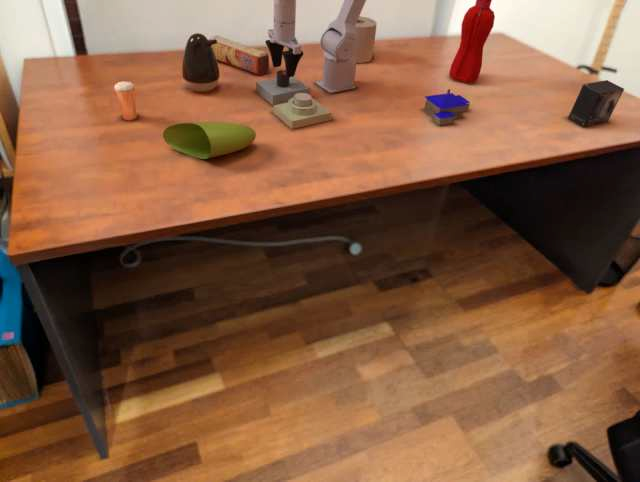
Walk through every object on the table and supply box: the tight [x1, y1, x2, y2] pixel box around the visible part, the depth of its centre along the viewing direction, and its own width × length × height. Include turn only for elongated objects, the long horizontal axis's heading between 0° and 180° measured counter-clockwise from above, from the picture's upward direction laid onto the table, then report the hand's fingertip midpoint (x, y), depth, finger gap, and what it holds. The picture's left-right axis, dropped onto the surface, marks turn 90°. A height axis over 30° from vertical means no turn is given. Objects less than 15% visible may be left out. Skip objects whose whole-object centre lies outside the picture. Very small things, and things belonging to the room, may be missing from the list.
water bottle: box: [449, 0, 496, 84], centre depth 153 cm, size 9×11×25 cm
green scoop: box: [162, 121, 257, 160], centre depth 113 cm, size 8×12×20 cm
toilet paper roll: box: [341, 15, 377, 64], centre depth 166 cm, size 12×12×12 cm
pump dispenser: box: [181, 32, 221, 93], centre depth 137 cm, size 10×10×15 cm
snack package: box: [208, 35, 270, 76], centre depth 154 cm, size 21×7×7 cm, turn 56°
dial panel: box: [255, 75, 311, 106], centre depth 141 cm, size 12×10×3 cm
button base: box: [272, 97, 332, 130], centre depth 131 cm, size 12×10×4 cm
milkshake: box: [113, 74, 138, 121], centre depth 122 cm, size 4×5×10 cm
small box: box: [567, 79, 625, 128], centre depth 140 cm, size 11×6×10 cm, turn 117°
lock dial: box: [276, 69, 290, 87], centre depth 139 cm, size 4×4×4 cm
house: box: [423, 88, 471, 126], centre depth 138 cm, size 11×14×6 cm
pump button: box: [294, 93, 313, 107], centre depth 130 cm, size 5×5×2 cm
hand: (283, 71), depth 138 cm, fingers open, 7 cm apart
